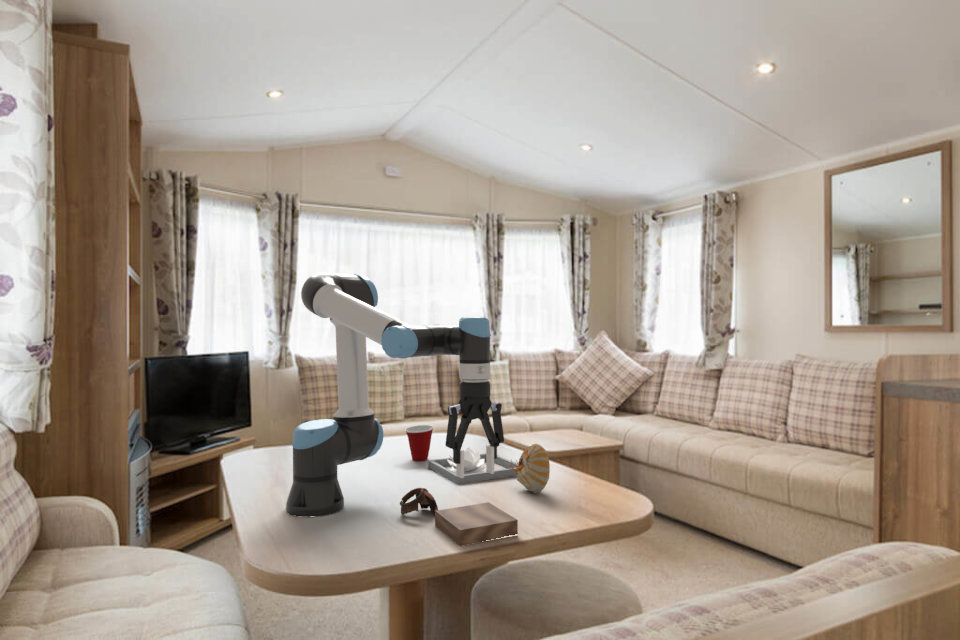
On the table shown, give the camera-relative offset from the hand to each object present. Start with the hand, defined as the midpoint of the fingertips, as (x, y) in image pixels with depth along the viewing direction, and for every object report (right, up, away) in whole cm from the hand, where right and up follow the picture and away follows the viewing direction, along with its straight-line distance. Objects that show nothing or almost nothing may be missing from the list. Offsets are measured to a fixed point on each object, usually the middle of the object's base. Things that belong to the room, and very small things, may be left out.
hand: (475, 474), depth 143 cm
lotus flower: (-4, -15, +56) cm, 58 cm away
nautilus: (+16, -15, +37) cm, 42 cm away
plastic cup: (-22, -15, +77) cm, 81 cm away
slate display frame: (0, -14, +60) cm, 61 cm away
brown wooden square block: (0, -15, 0) cm, 15 cm away
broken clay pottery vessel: (-13, -16, +15) cm, 25 cm away
